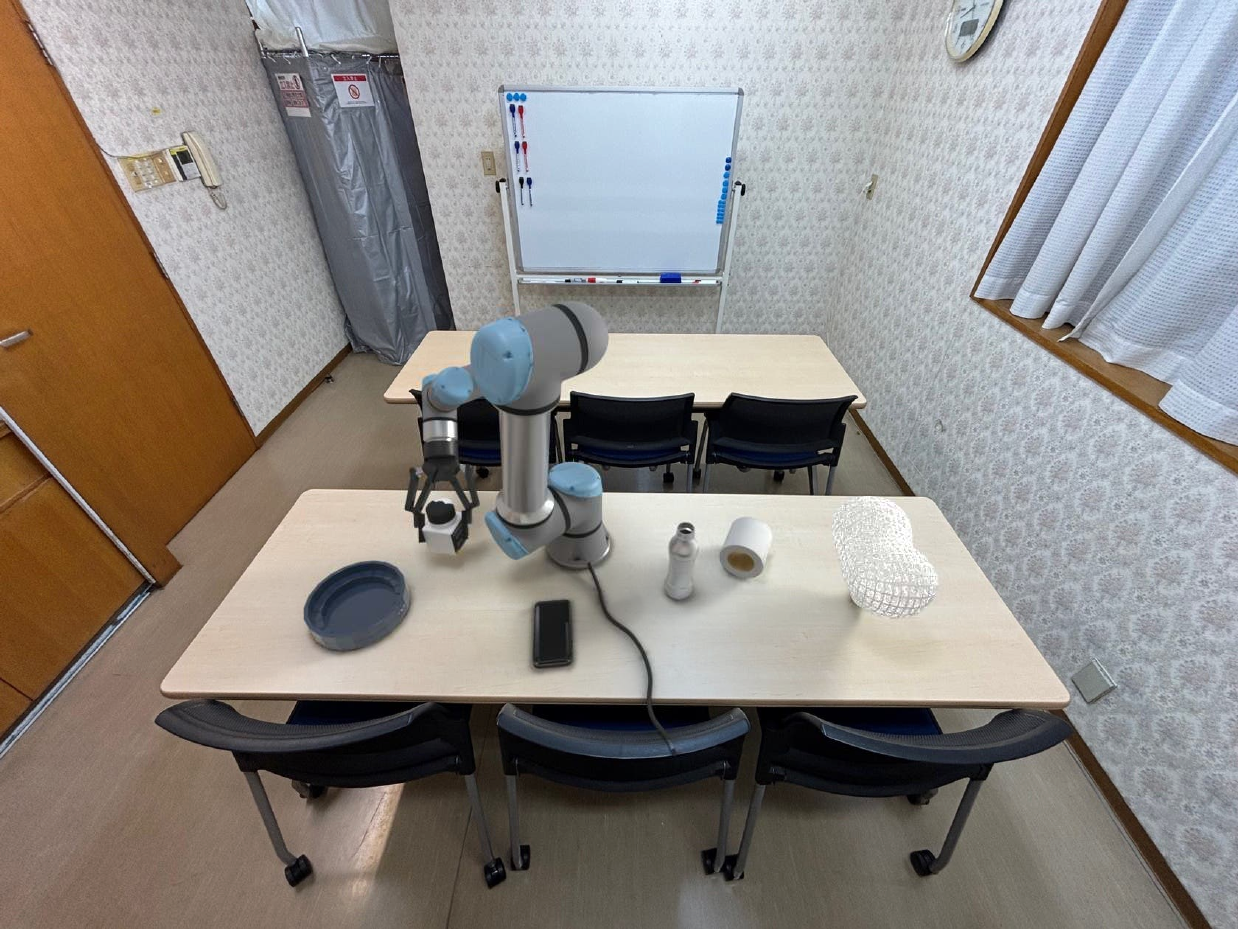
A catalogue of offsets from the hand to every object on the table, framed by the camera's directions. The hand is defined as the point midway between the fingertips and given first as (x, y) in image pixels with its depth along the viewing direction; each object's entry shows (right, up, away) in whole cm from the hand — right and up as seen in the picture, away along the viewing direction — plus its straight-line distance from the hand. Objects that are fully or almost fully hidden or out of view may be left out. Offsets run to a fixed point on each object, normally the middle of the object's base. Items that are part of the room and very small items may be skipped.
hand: (443, 540), depth 114 cm
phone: (+26, -18, -9) cm, 33 cm away
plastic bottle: (+53, -12, 0) cm, 54 cm away
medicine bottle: (0, -1, +5) cm, 5 cm away
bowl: (-16, -14, -5) cm, 22 cm away
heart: (+93, -13, -1) cm, 94 cm away
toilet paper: (+69, -6, +8) cm, 70 cm away
